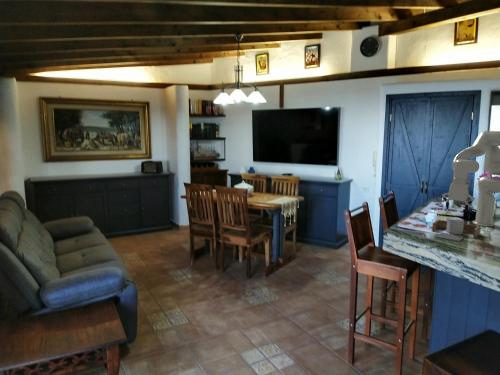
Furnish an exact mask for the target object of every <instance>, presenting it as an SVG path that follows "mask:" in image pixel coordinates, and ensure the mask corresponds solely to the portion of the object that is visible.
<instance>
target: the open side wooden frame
mask: <svg viewBox="0 0 500 375" xmlns="http://www.w3.org/2000/svg"><path fill="white" fill-rule="evenodd" d="M431 227H432V228H431V232H435V231H436V230H438V229H442V228H443V230H447V220H442V219H437V220H434V222H432V226H431ZM437 228H438V229H437ZM463 233H466V234H467V233H468V234H473V236H472V237H473V239H477V237H478V236H479V233H480V225H476V224H469V223H464V227H463Z"/></svg>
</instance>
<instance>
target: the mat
mask: <svg viewBox="0 0 500 375" xmlns="http://www.w3.org/2000/svg"><path fill="white" fill-rule="evenodd" d="M436 238H438V239H442V240H449V241H454V242H461V241H462V240H463V239H464V238H465V235H461V234H448V233H447V232H440V233H439V234H438V235H437V236H436Z"/></svg>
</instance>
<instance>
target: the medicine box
mask: <svg viewBox="0 0 500 375" xmlns="http://www.w3.org/2000/svg"><path fill="white" fill-rule="evenodd" d="M446 221H447V229H445V230H446V231H445V233H449V234H454V235H463V234H464V232H463V227H464V224H465V220H464V219H462V218H447V220H446Z"/></svg>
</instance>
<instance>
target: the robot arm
mask: <svg viewBox="0 0 500 375" xmlns="http://www.w3.org/2000/svg"><path fill="white" fill-rule="evenodd" d="M484 155H485V160H484V166H483V172H484V174H486V175H491V176H481V177H480V178H479V179H478V181H477V182H478V183H477V187H478V188H477V189H478V190H477V191H478V195H477V202H476V203H477V204H476V213H475V220H474V219H473V220H472V224H473V225H476V226H481V227H495V225H496V223H494V222H493V219H494V211H495V202H496V197H495V195H494V193H498V194H500V131H499V130H497V131H496V130H484V131H482V132H480V133H479V134H478V136H477V137H476V138H475V140H474V141H473V143H472V145H471V146H469V147H466V148H465V149H463V150H461V151H460V152H458V153H457V154H456V156H455V157H454V159H453V161H452V163H451V169H452V170H453V175H452V182H451V183H450V186H449V190H448V192H445V193H442V194H441V196H442V199H443V200H444V202H445V208H446V210H449V208H450V201H456V202H457V201H458V202H464V204H465V205H464V212H465V213H466V212H467V211H468V210H469V206H470V205H471V204H472V203H473V202H474V201H475V200H476V198H475V197H474V196H472V195H471V194H469V190H470V188H469V183H471V180H470V179H468V178H469V174H475V173H477V172H478V171H479V170H480V163H479V161H477V160H473V159H474V158H478V157H482V156H484ZM495 176H499V177H495ZM446 196H447V198H446ZM469 199H470V201H468V200H469Z"/></svg>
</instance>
